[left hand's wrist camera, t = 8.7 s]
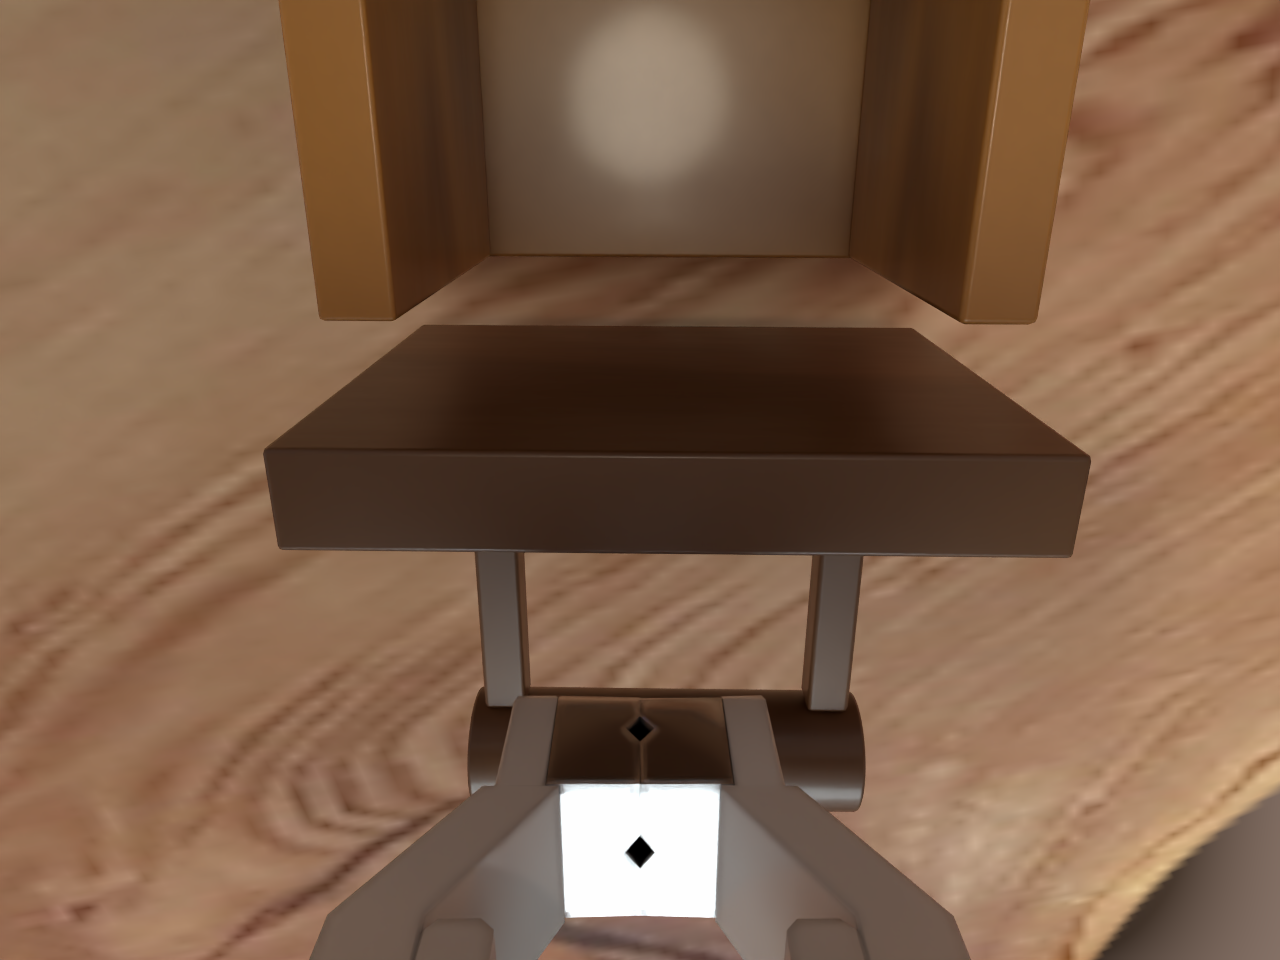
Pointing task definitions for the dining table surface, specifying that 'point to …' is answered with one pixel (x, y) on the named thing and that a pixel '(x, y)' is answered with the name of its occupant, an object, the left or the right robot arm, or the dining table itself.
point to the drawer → (680, 356)
